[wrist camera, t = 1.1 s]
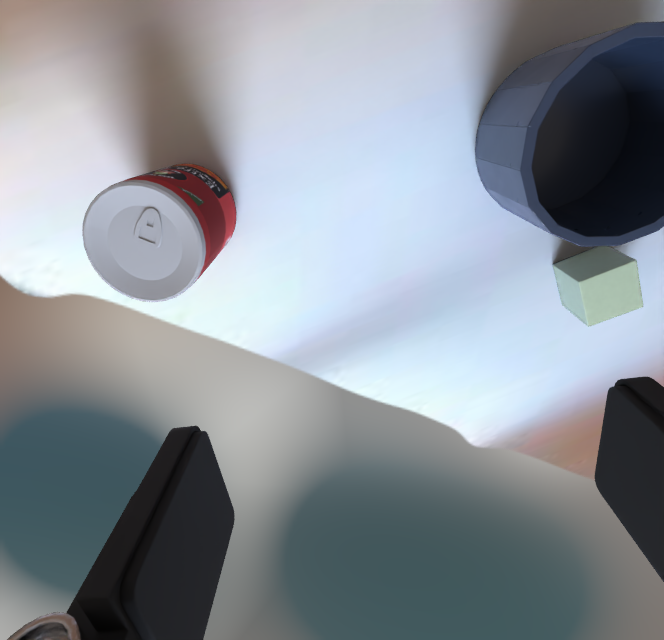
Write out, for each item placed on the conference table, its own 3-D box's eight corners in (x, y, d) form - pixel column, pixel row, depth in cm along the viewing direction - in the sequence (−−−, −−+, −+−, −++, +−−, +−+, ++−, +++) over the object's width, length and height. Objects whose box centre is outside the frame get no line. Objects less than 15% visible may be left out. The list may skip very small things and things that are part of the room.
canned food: (239, 167, 35) (201, 188, 25) (238, 259, 38) (204, 309, 28) (146, 156, 34) (70, 173, 24) (153, 249, 38) (90, 297, 28)
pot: (486, 50, 31) (544, 25, 22) (654, 45, 31) (777, 17, 22) (466, 217, 36) (507, 248, 28) (609, 213, 36) (694, 244, 28)
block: (552, 264, 38) (578, 282, 34) (603, 243, 37) (636, 259, 33) (562, 305, 40) (588, 327, 36) (611, 286, 39) (643, 307, 35)
